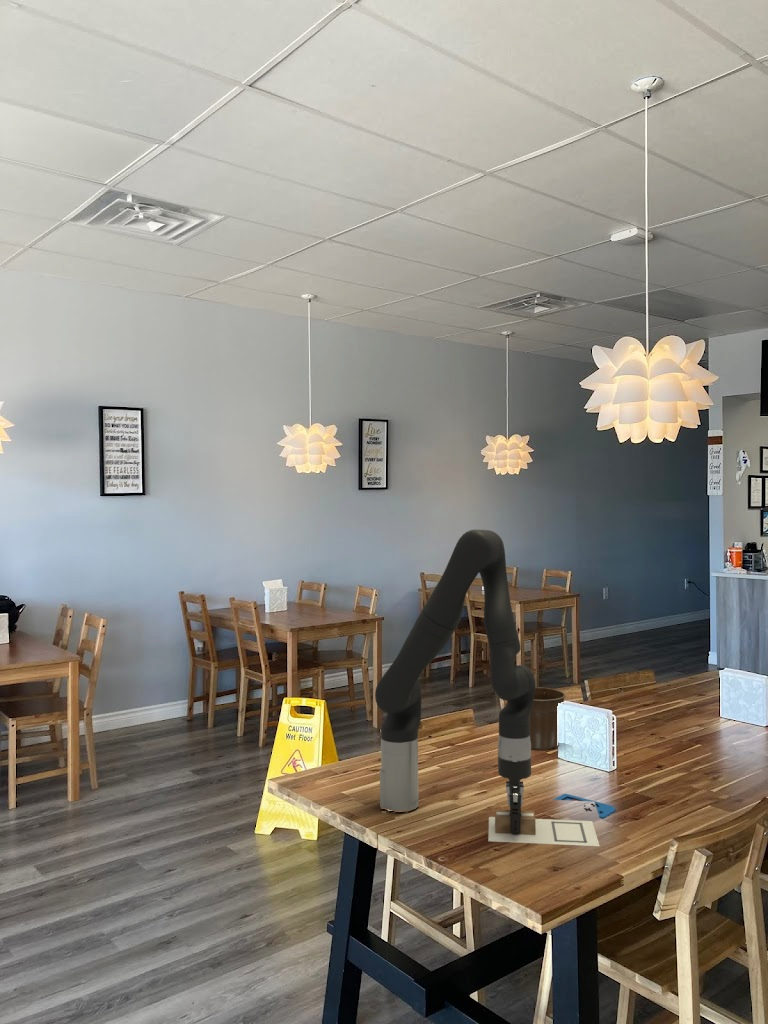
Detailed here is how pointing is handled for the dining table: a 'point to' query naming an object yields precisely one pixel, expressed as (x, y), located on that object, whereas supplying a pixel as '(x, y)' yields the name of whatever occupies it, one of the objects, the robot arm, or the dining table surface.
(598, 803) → the handheld gaming device
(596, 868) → the dining table surface
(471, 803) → the dining table surface
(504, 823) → the card box
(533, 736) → the plant pot
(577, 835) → the mat
